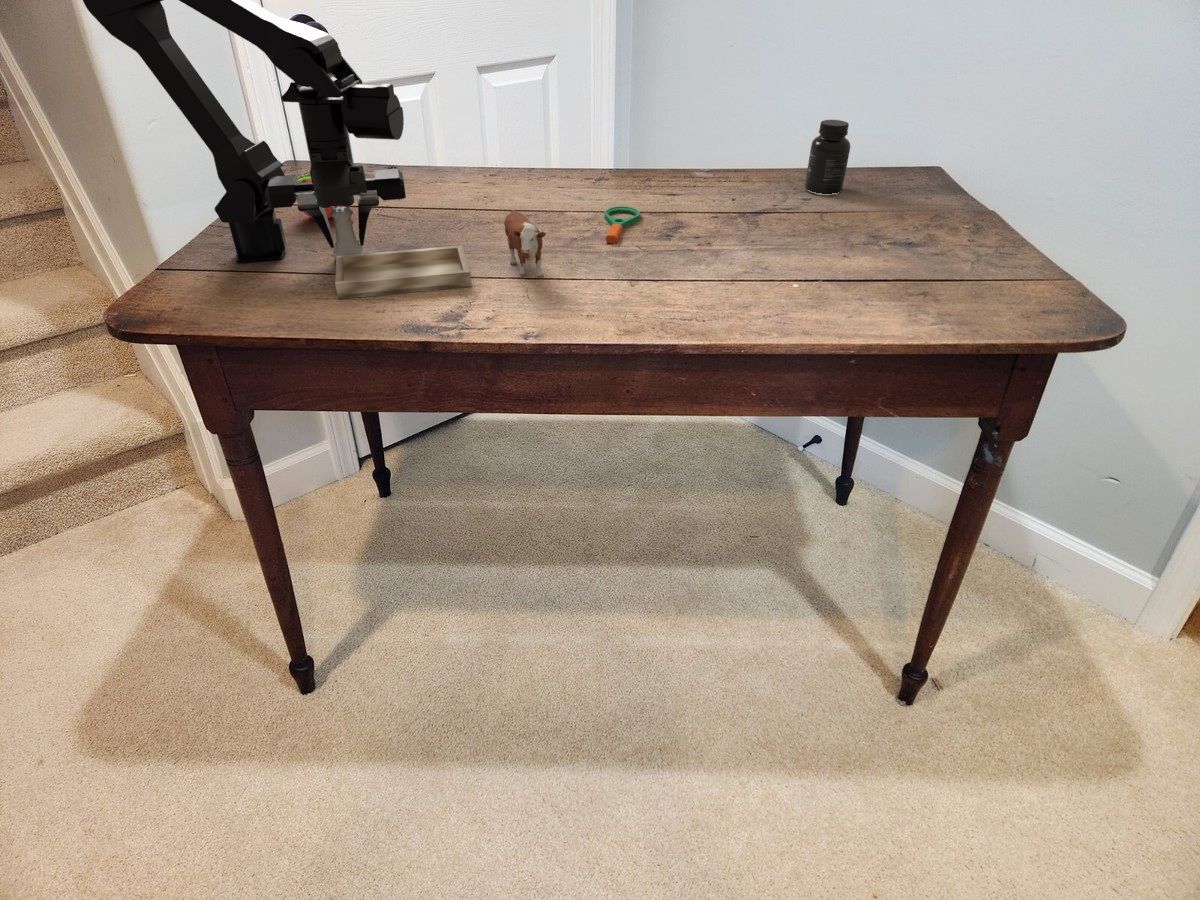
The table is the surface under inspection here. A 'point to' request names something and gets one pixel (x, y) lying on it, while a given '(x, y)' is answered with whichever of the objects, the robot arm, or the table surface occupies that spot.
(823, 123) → the supplement bottle
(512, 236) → the bull figurine
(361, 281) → the tray
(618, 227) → the magnifying glass
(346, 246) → the rook chess piece
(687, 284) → the table surface
